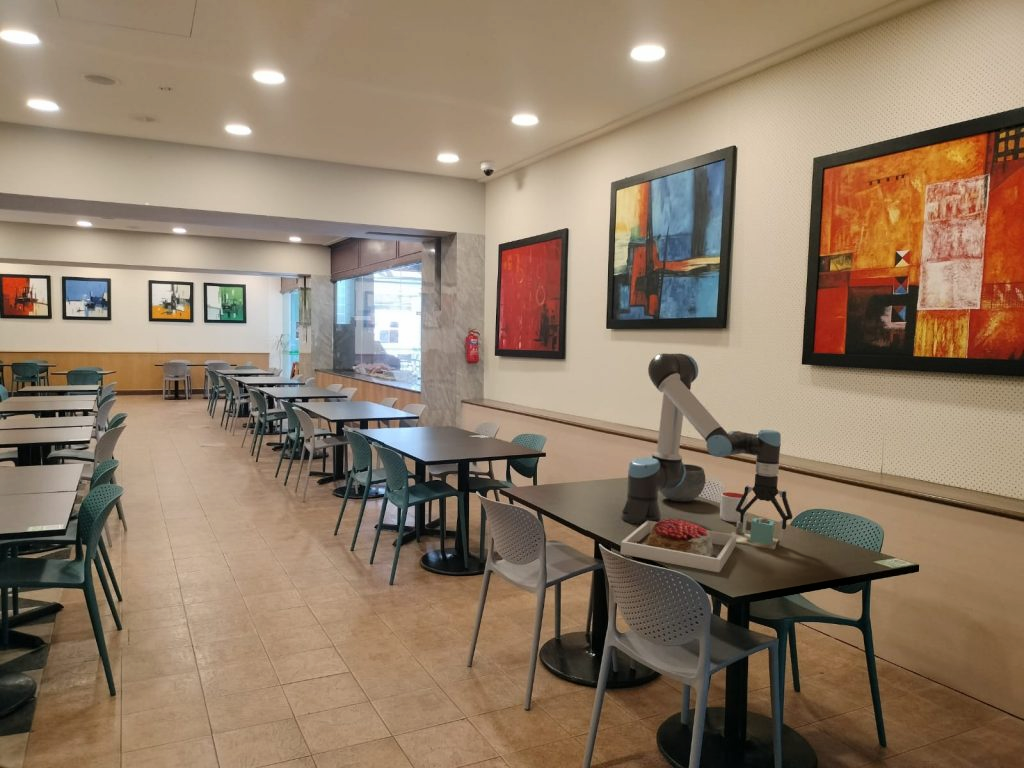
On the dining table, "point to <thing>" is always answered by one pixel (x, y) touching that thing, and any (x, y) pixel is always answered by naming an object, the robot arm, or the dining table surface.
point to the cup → (731, 506)
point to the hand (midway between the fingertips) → (762, 534)
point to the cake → (680, 537)
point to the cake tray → (677, 556)
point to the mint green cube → (762, 532)
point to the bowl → (687, 485)
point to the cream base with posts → (745, 538)
